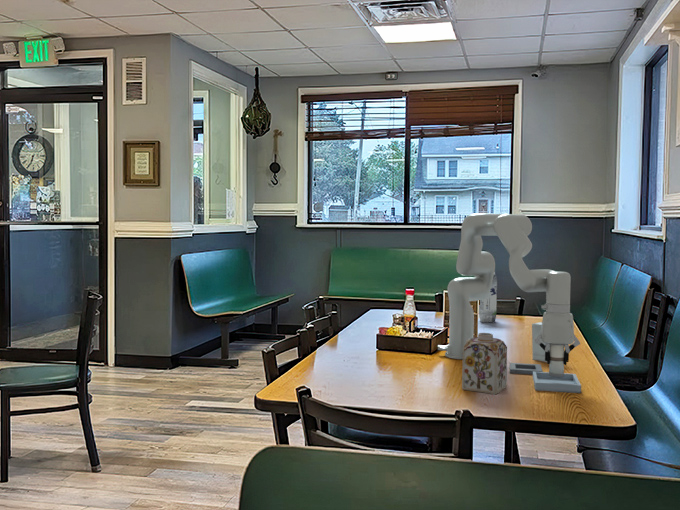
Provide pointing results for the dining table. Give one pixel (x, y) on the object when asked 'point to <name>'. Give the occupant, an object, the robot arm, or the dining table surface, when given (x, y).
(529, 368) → the socket
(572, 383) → the tray
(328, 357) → the dining table surface
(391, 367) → the dining table surface
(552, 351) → the cylinder
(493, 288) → the juice carton
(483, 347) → the decorative jar
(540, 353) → the skincare box
